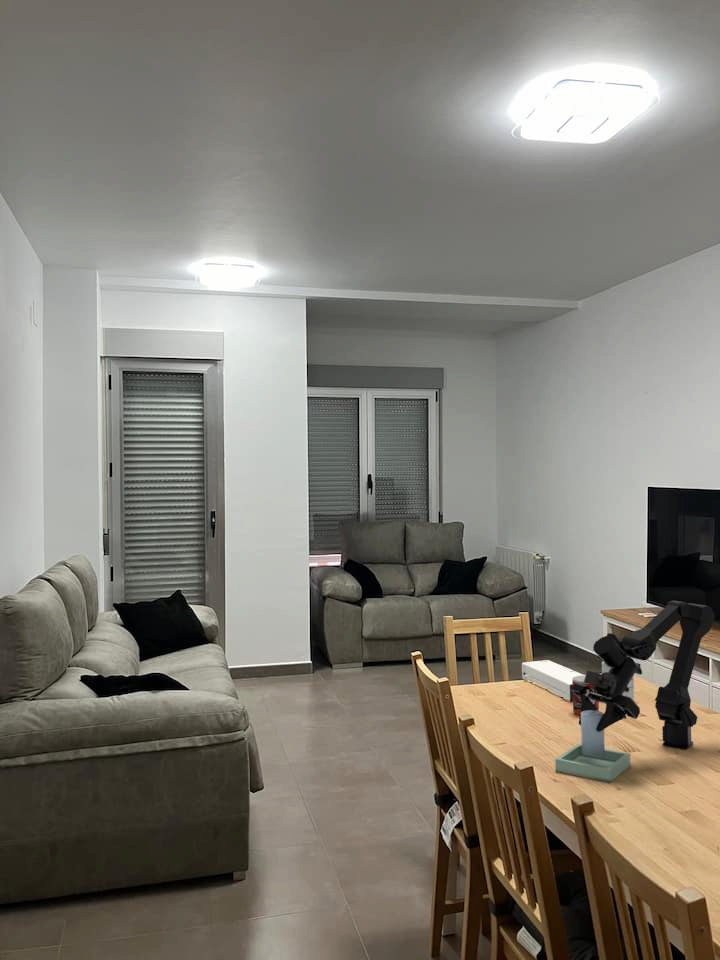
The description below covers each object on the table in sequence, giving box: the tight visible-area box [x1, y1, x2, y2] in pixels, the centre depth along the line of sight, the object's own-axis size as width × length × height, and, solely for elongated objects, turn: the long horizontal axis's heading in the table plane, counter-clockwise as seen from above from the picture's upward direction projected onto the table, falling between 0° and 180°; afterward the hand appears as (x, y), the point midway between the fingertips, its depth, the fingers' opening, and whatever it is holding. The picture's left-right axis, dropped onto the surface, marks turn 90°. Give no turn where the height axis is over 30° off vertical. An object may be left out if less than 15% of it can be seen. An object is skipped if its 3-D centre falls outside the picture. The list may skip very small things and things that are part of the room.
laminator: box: [521, 659, 586, 702], centre depth 289 cm, size 34×12×6 cm, turn 16°
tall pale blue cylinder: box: [580, 710, 606, 757], centre depth 211 cm, size 6×6×10 cm
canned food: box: [572, 675, 600, 717], centre depth 258 cm, size 8×8×11 cm
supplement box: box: [601, 661, 635, 702], centre depth 271 cm, size 7×7×13 cm
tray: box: [554, 743, 631, 783], centre depth 211 cm, size 14×14×3 cm
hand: (588, 727), depth 211 cm, fingers closed on tall pale blue cylinder, 6 cm apart
